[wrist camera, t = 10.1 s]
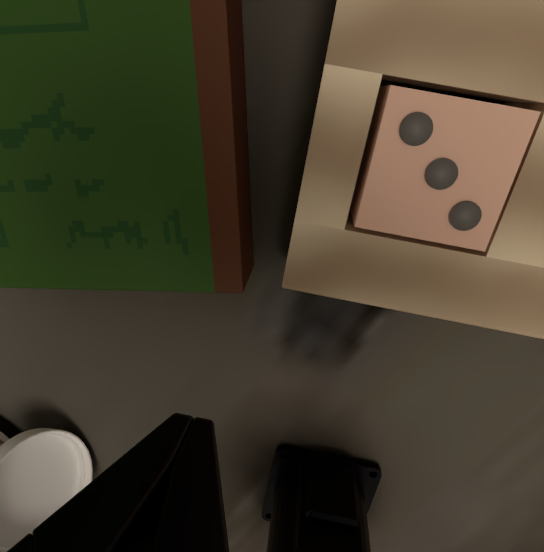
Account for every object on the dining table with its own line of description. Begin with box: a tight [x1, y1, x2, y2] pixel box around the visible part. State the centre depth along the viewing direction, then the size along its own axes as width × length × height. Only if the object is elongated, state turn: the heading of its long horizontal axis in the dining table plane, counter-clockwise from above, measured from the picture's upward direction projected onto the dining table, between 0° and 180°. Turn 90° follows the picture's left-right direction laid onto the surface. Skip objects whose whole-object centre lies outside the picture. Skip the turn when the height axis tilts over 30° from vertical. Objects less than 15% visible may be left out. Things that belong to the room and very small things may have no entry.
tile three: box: [350, 85, 541, 252], centre depth 16 cm, size 5×5×4 cm
